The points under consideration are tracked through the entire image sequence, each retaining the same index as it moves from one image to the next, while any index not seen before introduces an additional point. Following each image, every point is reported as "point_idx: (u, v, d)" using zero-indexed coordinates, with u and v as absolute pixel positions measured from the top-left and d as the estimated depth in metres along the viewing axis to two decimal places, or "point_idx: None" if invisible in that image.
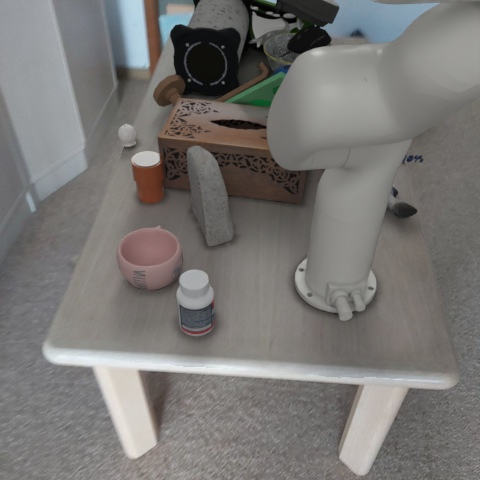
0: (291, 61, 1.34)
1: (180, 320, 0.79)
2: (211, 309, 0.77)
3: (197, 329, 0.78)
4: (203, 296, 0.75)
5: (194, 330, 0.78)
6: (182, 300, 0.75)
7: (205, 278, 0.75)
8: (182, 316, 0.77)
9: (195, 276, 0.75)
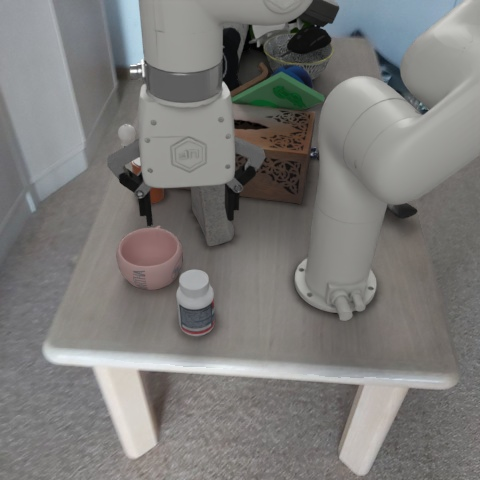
0: (291, 61, 1.34)
1: (180, 320, 0.79)
2: (211, 309, 0.77)
3: (197, 329, 0.78)
4: (203, 296, 0.75)
5: (194, 330, 0.78)
6: (182, 300, 0.75)
7: (205, 278, 0.75)
8: (182, 316, 0.77)
9: (195, 276, 0.75)
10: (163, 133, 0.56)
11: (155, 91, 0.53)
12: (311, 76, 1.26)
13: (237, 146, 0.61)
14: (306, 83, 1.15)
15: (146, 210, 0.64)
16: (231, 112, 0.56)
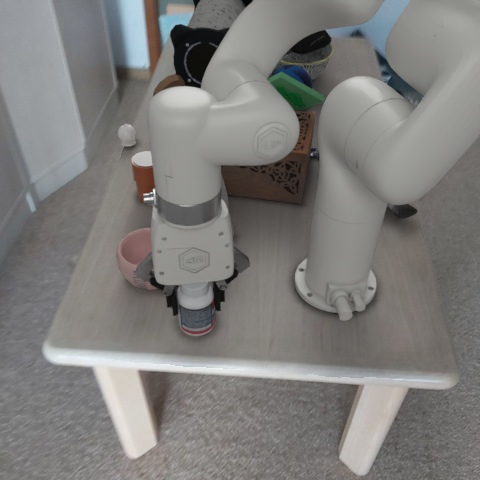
0: (291, 61, 1.34)
1: (180, 320, 0.79)
2: (211, 309, 0.77)
3: (197, 329, 0.78)
4: (203, 296, 0.75)
5: (194, 330, 0.78)
6: (182, 300, 0.75)
7: None
8: (182, 316, 0.77)
9: None
10: (172, 246, 0.66)
11: (165, 216, 0.63)
12: (311, 76, 1.26)
13: None
14: (306, 83, 1.15)
15: (173, 304, 0.75)
16: (229, 226, 0.67)
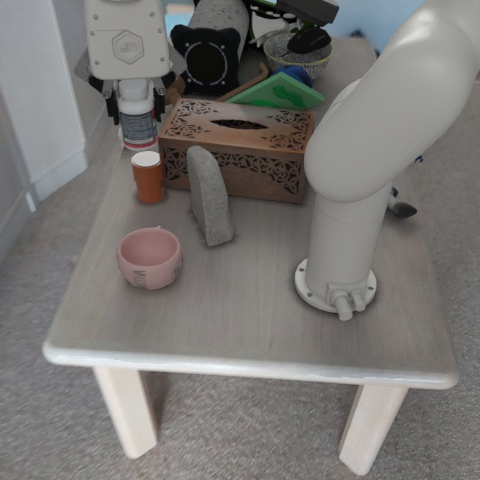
0: (291, 61, 1.34)
1: (122, 133, 0.80)
2: (151, 119, 0.79)
3: (139, 142, 0.80)
4: (142, 101, 0.77)
5: (136, 143, 0.80)
6: (122, 105, 0.77)
7: (144, 83, 0.76)
8: (123, 125, 0.79)
9: (135, 81, 0.77)
10: (104, 27, 0.68)
11: None
12: (311, 76, 1.26)
13: None
14: (306, 83, 1.15)
15: (113, 109, 0.77)
16: (161, 8, 0.68)
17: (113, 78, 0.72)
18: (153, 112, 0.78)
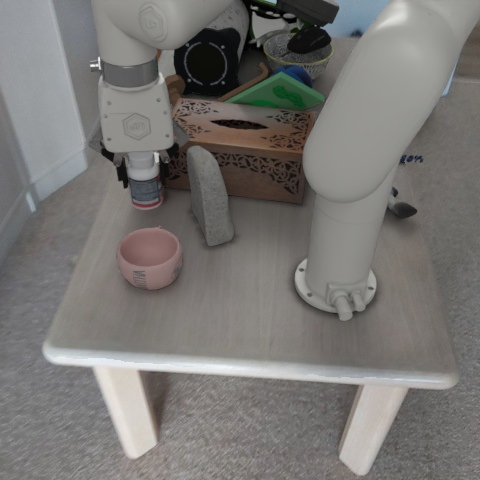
0: (291, 61, 1.34)
1: (131, 195, 0.89)
2: (157, 183, 0.88)
3: (145, 202, 0.89)
4: (149, 169, 0.86)
5: (143, 203, 0.89)
6: (131, 172, 0.86)
7: (150, 152, 0.85)
8: (132, 188, 0.88)
9: None
10: (116, 110, 0.77)
11: (108, 79, 0.74)
12: (311, 76, 1.26)
13: None
14: (306, 83, 1.15)
15: (122, 176, 0.86)
16: (166, 94, 0.77)
17: (123, 151, 0.81)
18: (158, 177, 0.87)
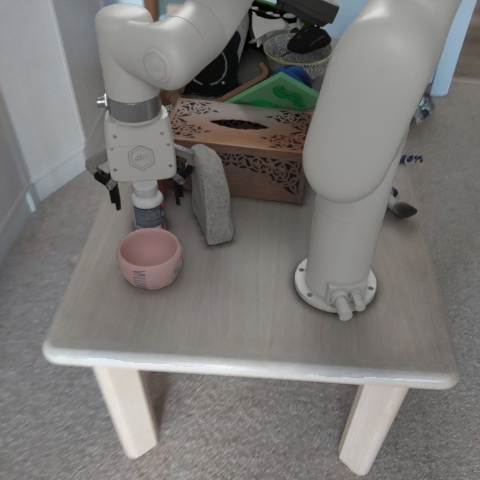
0: (291, 61, 1.34)
1: (135, 221, 0.93)
2: (160, 211, 0.91)
3: None
4: (153, 197, 0.90)
5: None
6: (135, 201, 0.90)
7: (154, 182, 0.89)
8: (136, 216, 0.92)
9: (146, 181, 0.90)
10: (122, 143, 0.80)
11: (114, 115, 0.78)
12: (311, 76, 1.26)
13: (177, 151, 0.85)
14: (306, 83, 1.15)
15: (115, 198, 0.88)
16: (169, 127, 0.81)
17: (128, 181, 0.85)
18: (162, 205, 0.91)
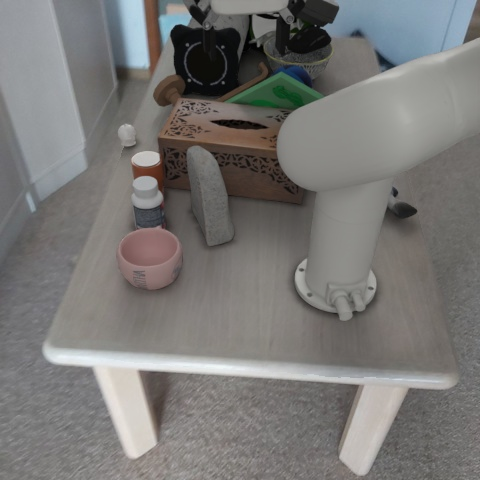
0: (291, 61, 1.34)
1: (135, 221, 0.93)
2: (160, 211, 0.92)
3: None
4: (153, 198, 0.90)
5: None
6: (135, 201, 0.90)
7: (154, 182, 0.89)
8: (136, 216, 0.92)
9: (146, 181, 0.90)
10: None
11: None
12: (311, 76, 1.26)
13: None
14: (306, 83, 1.15)
15: (212, 42, 0.74)
16: None
17: (232, 13, 0.71)
18: (162, 205, 0.91)
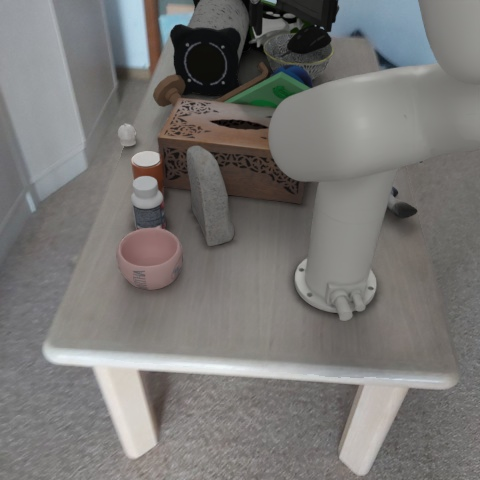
0: (291, 61, 1.34)
1: (135, 221, 0.93)
2: (160, 211, 0.91)
3: None
4: (153, 197, 0.90)
5: None
6: (135, 201, 0.90)
7: (154, 182, 0.89)
8: (136, 216, 0.92)
9: (146, 181, 0.90)
10: None
11: None
12: (311, 76, 1.26)
13: None
14: (306, 83, 1.15)
15: (258, 16, 0.74)
16: None
17: None
18: (162, 205, 0.91)
